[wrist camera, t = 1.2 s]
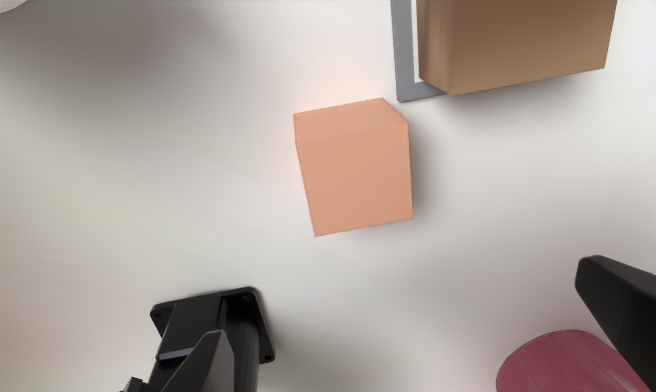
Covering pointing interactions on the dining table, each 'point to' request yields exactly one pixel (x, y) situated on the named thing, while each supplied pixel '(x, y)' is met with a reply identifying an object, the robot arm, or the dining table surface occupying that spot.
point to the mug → (9, 4)
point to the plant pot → (567, 366)
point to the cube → (354, 165)
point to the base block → (509, 41)
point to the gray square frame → (408, 53)
